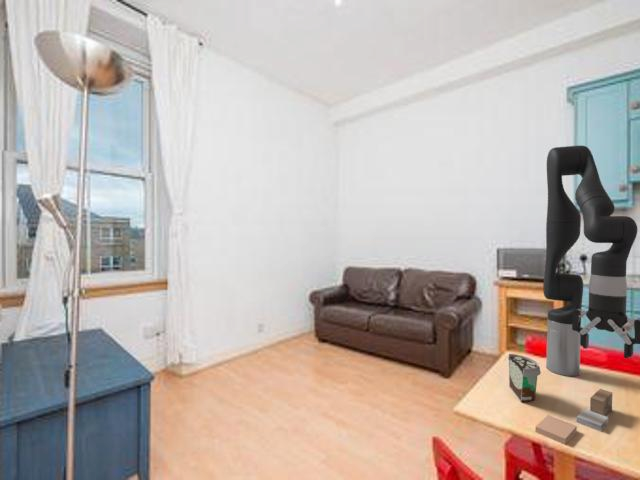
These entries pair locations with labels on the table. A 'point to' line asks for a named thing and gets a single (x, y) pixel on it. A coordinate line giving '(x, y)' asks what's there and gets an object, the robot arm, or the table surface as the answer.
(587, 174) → the robot arm
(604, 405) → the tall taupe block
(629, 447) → the table surface
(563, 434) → the tile
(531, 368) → the food container
